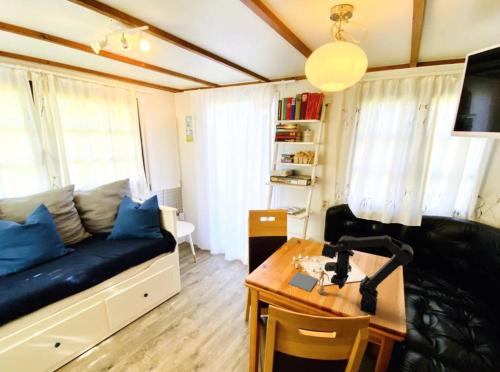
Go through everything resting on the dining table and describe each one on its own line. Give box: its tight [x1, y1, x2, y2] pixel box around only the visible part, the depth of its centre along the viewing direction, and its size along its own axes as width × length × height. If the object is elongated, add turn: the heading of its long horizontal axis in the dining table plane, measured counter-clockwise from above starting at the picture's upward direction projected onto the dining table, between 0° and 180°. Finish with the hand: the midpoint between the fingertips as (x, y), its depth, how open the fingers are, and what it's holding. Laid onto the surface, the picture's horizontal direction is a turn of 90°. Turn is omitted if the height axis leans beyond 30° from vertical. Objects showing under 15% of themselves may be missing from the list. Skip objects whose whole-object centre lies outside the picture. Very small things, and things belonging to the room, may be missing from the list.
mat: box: [287, 271, 319, 293], centre depth 136 cm, size 13×14×1 cm
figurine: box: [313, 270, 330, 294], centre depth 127 cm, size 8×6×12 cm
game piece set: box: [291, 254, 322, 272], centre depth 156 cm, size 19×20×4 cm
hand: (340, 288), depth 121 cm, fingers closed
